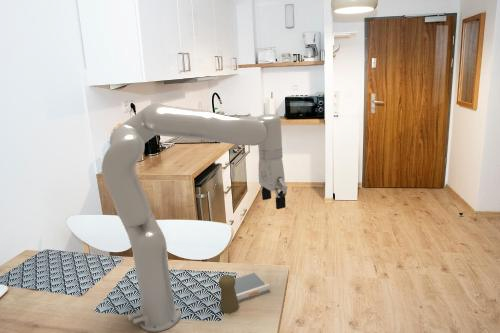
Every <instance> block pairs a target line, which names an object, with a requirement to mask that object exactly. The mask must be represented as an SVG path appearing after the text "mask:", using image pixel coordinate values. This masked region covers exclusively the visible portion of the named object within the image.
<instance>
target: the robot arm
mask: <svg viewBox="0 0 500 333" xmlns="http://www.w3.org/2000/svg"><path fill="white" fill-rule="evenodd" d="M156 135H157V136H161V137H171V138H182V139H190V140H191V139H194V140H200V141H201V140H202V141H206V142H207V141H208V142H218V143H224V144H232V145H238V146H239V145H240V146H251V147H253V146H258V184H260V188H261V200H262V201H266V200H270V199H272V192H274V193H275V208H276V210H281V209H285V208H286V207H287V206H286V197H287V190H288V185H287V184H286V183H285V182H286V181H285V180H286V179H285V170H284V164H283V140H282V137H283V136H282V121H281V116H279V115H278V114H276V113H275V114H274V113H273V114H272V113H267V114H262V115H258V116H240V117H233V116H232V117H231V116H226V115H223V114H218V113H216V112H213V111H210V110H209V111H208V110H204V109H196V108H195V109H194V108H189V107H188V108H186V107H180V106H179V107H178V106H171V105H164V104H162V103H158V102H156V103H154V102H153V103H151V104H149V105H147V106H145V107H144V108H142V110H139V111H138V112H137V113H135V114H134V115H133V116H132V117H130V118H129V119H127V120H126V121H125V122H123V123H122V124H120V125H119V126H117V127H116V128H115V129H114V130H113V131H112V133H111V135H110V137H109V144H110V146H108V149H107V150H106V152H105V153H104V156H103V158H102V159H103V160H102V164H101V174H102V177H103V180H104V184H105V187H106V189H107V190H108V193H109V195H110V198H111V200H112V202H113V205H114V209H115V212H116V214H117V217H119V219H120V221H121V224H122V225H123V227H124V230H125V232H126V233H127V236H128V240H129V243H130V247H131V251H132V256H133V261H134V269H135V274H136V275H135V276H136V279H137V280H136V281H137V285H138V290H139V297H140V302H141V306H140V309H139V310H137V312H134V313H130V314H127V320H128V322H131V321H132V322H133V325H135V324H139V325H140V328H141V329H143V331H144V330H145V331H147V332H150V333H151V332H153V333H154V332H155V333H156V332H162V331H165V330H168V329H170V328H172V327H174V325H176V324H177V323H178V322H179V320H180V319H181V309H180V308H179V306H177V305H176V304H175V302H174V294H173V288H172V282H171V274H170V269H169V263H168V260H169V259H168V250H167V249H168V248H167V242H166V237H165V235H164V232H163V231H162V229H161V227H160V225H159V224H158V221H157V220H156V217H155V215H154V213H153V211H152V207H151V205H150V204H151V203H150V201H149V199H148V197H147V195H146V193H145V191H144V190H143V188H142V185H141V184H140V183H141V182H140V181H139V178H138V175H137V173H136V165H137V163H138V161H139V160H140V159H141V158H142V156H143V155H144V153H145V149H146V148H145V147H146V146H145V144H146V143H147V142H149V140H151V139H152V138H154V137H155V136H156Z"/></svg>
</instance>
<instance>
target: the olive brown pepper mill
mask: <svg viewBox="0 0 500 333" xmlns="http://www.w3.org/2000/svg"><path fill="white" fill-rule="evenodd" d="M235 279H236V278H235V277H234V276H233V275H231V274H224V275H222V276H221V277H220V278H219V279H218V286H219V288H220V312H222V313H223V314H227V315H228V314H233V313H236V312H237V311H239V309H240V305H239V302H238V300H237V296H236V292H235V288H234V286H235Z"/></svg>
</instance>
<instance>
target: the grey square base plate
mask: <svg viewBox="0 0 500 333" xmlns="http://www.w3.org/2000/svg"><path fill="white" fill-rule="evenodd" d="M270 287H271V286H270V284H269V283H265V282H264V281H263V280H262V279H261V278H260V277H259V276H258V275H257V274H256V273H255V272H252V273H249V274H246V275H243V276H239V277H237V278H235V286H234V288H235V292H236V296H237V300H238V303H241V302H244V301H247V300H250V299H253V298H256V297H260V296H261V295H264V294H267V293H270V291H271V290H270Z"/></svg>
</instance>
